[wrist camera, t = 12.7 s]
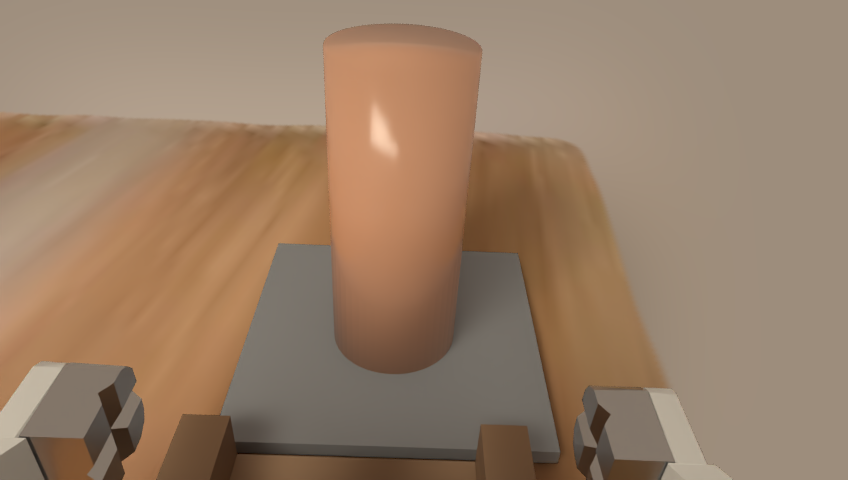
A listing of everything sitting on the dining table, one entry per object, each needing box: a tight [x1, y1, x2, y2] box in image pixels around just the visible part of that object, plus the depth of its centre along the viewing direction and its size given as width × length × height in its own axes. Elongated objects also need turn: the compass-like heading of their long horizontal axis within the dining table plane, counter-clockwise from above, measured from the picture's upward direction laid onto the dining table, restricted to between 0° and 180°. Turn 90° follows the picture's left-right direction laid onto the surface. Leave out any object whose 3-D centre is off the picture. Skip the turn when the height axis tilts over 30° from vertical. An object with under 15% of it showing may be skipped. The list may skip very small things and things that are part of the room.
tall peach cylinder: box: [323, 24, 482, 374], centre depth 24 cm, size 5×8×12 cm, turn 179°
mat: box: [220, 243, 560, 463], centre depth 27 cm, size 12×12×1 cm
